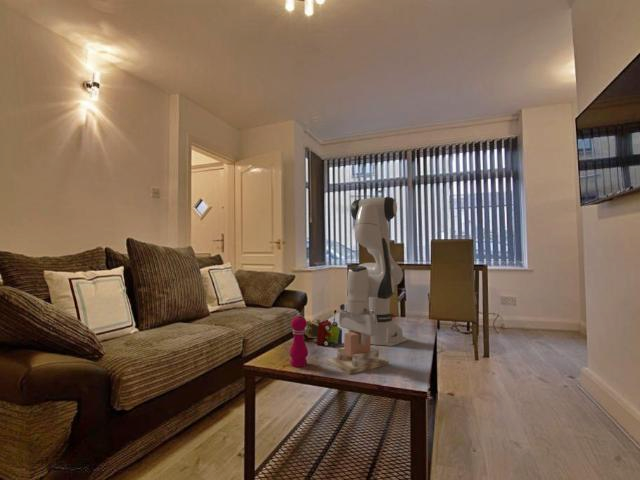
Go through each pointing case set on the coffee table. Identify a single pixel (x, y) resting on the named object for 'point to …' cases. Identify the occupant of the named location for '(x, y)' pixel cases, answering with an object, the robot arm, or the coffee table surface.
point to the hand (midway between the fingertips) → (357, 342)
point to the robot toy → (324, 332)
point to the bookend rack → (357, 361)
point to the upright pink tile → (355, 344)
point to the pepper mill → (298, 342)
